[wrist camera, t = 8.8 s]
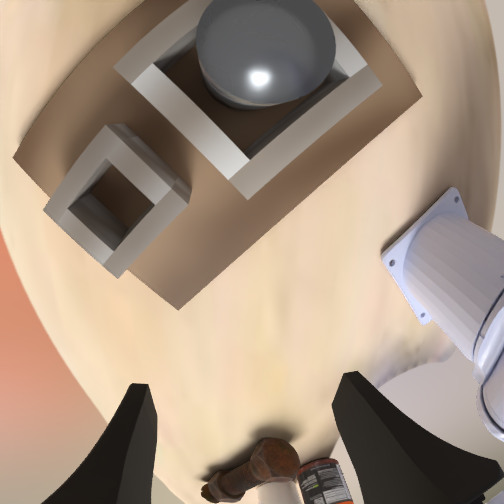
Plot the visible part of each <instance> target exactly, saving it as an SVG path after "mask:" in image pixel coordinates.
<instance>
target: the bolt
mask: <svg viewBox="0 0 504 504" xmlns="http://www.w3.org/2000/svg"><path fill="white" fill-rule="evenodd" d="M250 459H251V460H249V461H247V462H246V463H244V464H243V465H241V466H239V467H237V468H236V469H234V470H232V471H227V470H219V471H218V472H216V473H215V474H214V475H213V476H212V478H211V479H210V481H209V483H208V484H206V485H204V486H203V487H202V489H201V490H202V491H203V492H201V496H202V497H203V498H205V499H206V500H208V501H209V502H212V503H215V504H216V503H219V502H229V503H235V502H238V501H240V500H241V499H242V497H243V496H244V494H245V492H246V491H247V490H249V489H251V488H253V487H255V486H257V485H259V484H261V483H263V482H265V481H271V482H285V483H288V482H290V481H291V480H293V479H294V478H295V477H296V475H297V473H298V471H299V468H300V460H299V457H298V454H297V452H296V450H295V449H294V448H293V447H292V446H291V445H290V444H289V443H287V442H286V441H284V440H282V439H277V438H264V439H262V440H261V441H260V442H258V444H257V446H256V448H255V450H254V452H253V454H252V456H251V458H250Z"/></svg>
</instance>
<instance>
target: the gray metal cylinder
mask: <svg viewBox="0 0 504 504" xmlns="http://www.w3.org/2000/svg"><path fill="white" fill-rule="evenodd" d="M196 48H197V53H198V58H199V64H200V69H201V74H202V79H203V82H204V85H205V87H206V89H207V91H208V92H209V93H210V95H211V96H212V97H213V98H214V99H215V100H216V101H218V102H219V103H220V104H222V105H224V106H226V107H228V108H231V109H234V110H239V111H254V110H259V109H262V108H266V107H270V106H273V105H277V104H281V103H285V102H289V101H292V100H296V99H298V98H301V97H303V96H305V95H307V94H309V93H310V92H312V91H313V90H315V89H316V88H317V87H318V86H319V85H320V84H321V83H322V82H323V81H324V80H325V78H326V77H327V76H328V74H329V72H330V70H331V68H332V66H333V63H334V60H335V54H336V40H335V35H334V31H333V28H332V26H331V23H330V21H329V20H328V18H327V16H326V15H325V13H324V12H323V11H322V9H321V8H320V7H319V6H318V5H317V4H316V3H315V2H314V1H312V0H213V1H212V2H211V3H210V4H209V6H208V7H207V8H206V9H205V11H204V12H203V14H202V16H201V18H200V20H199V23H198V27H197V31H196Z"/></svg>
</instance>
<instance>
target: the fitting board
mask: <svg viewBox="0 0 504 504" xmlns="http://www.w3.org/2000/svg"><path fill="white" fill-rule="evenodd" d="M212 1H213V0H145V1H144V2H143V3H142V4H140V5H139V6H138V7H137V8H136V9H135V10H133V11H132V12H131V13H130V14H129V15H128V16H127V17H125V18H124V19H123V20H122V21H121V22H120V23H119V24H118V25H117V26H116V27H115V28H113V29H112V30H111V31H110V32H109V33H108V34H107V35H106V36H105V37H104V38H103V39H102V40H101V41H100V42H99V43H98V44H97V45H96V46H95V47H94V49H93V50H92V51H91V52H90V53H89V54H88V55H87V56H86V57H85V58H84V59H83V60H82V62H81V63H80V64H79V65H78V66H77V67H76V68H75V70H74V71H73V72H72V73H71V74H70V76H69V77H68V78H67V79H66V80H65V82H64V83H63V84H62V85H61V87H60V88H59V89H58V90H57V92H56V93H55V94H54V96H53V97H52V98H51V100H50V101H49V102H48V104H47V105H46V106H45V108H44V109H43V111H42V112H41V114H40V115H39V116H38V118H37V119H36V121H35V122H34V124H33V125H32V127H31V128H30V130H29V132H28V133H27V135H26V136H25V138H24V139H23V141H22V143H21V144H20V146H19V148H18V149H17V151H16V153H15V155H14V156H13V159H14V160H15V161H16V162H17V163H18V164H19V166H20V167H21V168H22V169H23V170H24V171H25V172H26V173H27V174H28V175H29V176H30V177H31V179H32V180H33V181H34V182H35V183H36V184H37V185H38V186H39V187H40V188H41V189H42V190H43V191H44V192H45V193H46V194H47V195H48V196H49V197H50V200H49V201H48V203H47V204H46V206H45V208H44V209H43V211H44V212H45V213H46V214H47V215H48V216H49V217H50V218H51V219H52V220H53V221H54V222H55V223H56V224H57V225H58V226H60V227H61V228H62V229H63V230H64V231H65V232H66V233H67V234H68V235H69V236H70V237H71V238H72V239H73V240H74V241H75V242H76V243H78V244H79V245H80V246H81V247H82V248H83V249H84V250H85V251H86V252H87V253H89V254H90V255H91V256H92V257H93V258H94V259H95V260H96V261H98V262H99V263H100V264H101V265H102V266H103V267H104V268H106V269H107V270H108V271H109V272H110V273H111V274H113V275H114V276H115V277H116V278H117V279H118V278H119V277H120V276H121V275H122V274H123V273H124V272H125V271H126V269H128V270H129V271H130V272H131V273H132V274H134V275H135V276H136V277H137V278H138V279H139V280H141V281H142V282H143V283H144V284H146V285H147V286H148V287H149V288H150V289H152V290H153V291H154V292H155V293H157V294H158V295H159V296H160V297H162V298H163V299H164V300H165V301H167V302H168V303H169V304H171V305H172V306H173V307H174V308H176V309H177V310H179V309H181V308H182V307H183V306H184V305H185V304H186V303H187V302H188V301H190V300H191V299H192V298H193V297H194V296H195V295H196V294H197V293H199V292H200V291H201V290H202V289H203V288H204V287H205V286H206V285H208V284H209V283H210V282H211V281H212V280H213V279H214V278H215V277H217V276H218V275H219V274H220V273H221V272H222V271H223V270H225V269H226V268H227V267H228V266H229V265H230V264H231V263H232V262H234V261H235V260H236V259H237V258H238V257H239V256H240V255H242V254H243V253H244V252H245V251H246V250H247V249H248V248H249V247H251V246H252V245H253V244H254V243H255V242H256V241H257V240H259V239H260V238H261V237H262V236H263V235H264V234H265V233H266V232H268V231H269V230H270V229H271V228H272V227H273V226H274V225H276V224H277V223H278V222H279V221H280V220H281V219H282V218H284V217H285V216H286V215H287V214H288V213H289V212H290V211H291V210H293V209H294V208H295V207H296V206H297V205H298V204H299V203H301V202H302V201H303V200H304V199H305V198H306V197H307V196H309V195H310V194H311V193H312V192H313V191H314V190H315V189H317V188H318V187H319V186H320V185H321V184H322V183H323V182H325V181H326V180H327V179H328V178H329V177H330V176H331V175H333V174H334V173H335V172H336V171H337V170H338V169H339V168H341V167H342V166H343V165H344V164H345V163H346V162H347V161H349V160H350V159H351V158H352V157H353V156H354V155H355V154H357V153H358V152H359V151H360V150H361V149H362V148H364V147H365V146H366V145H367V144H368V143H369V142H370V141H372V140H373V139H374V138H375V137H376V136H377V135H378V134H380V133H381V132H382V131H383V130H384V129H385V128H387V127H388V126H389V125H390V124H391V123H392V122H393V121H395V120H396V119H397V118H398V117H399V116H400V115H402V114H403V113H404V112H405V111H406V110H407V109H408V108H410V107H411V106H412V105H413V104H414V103H415V102H417V101H418V100H419V99H420V98H421V97H422V95H421V93H420V91H419V89H418V88H417V86H416V85H415V83H414V81H413V80H412V78H411V77H410V75H409V73H408V72H407V70H406V69H405V67H404V66H403V64H402V63H401V61H400V60H399V58H398V57H397V55H396V54H395V53H394V51H393V50H392V48H391V47H390V46H389V44H388V43H387V41H386V40H385V39H384V37H383V36H382V35H381V34H380V32H379V31H378V30H377V28H376V27H375V26H374V25H373V23H372V22H371V21H370V20H369V18H368V17H367V16H366V15H365V14H364V12H363V11H362V10H361V9H360V8H359V7H358V5H357V4H356V3H355V2H354V1H353V0H312V1H314V2H315V3H316V4H317V5H318V6H319V7H320V8H321V9H322V11H323V12H324V13H325V15H326V16H327V18H328V20H329V21H330V23H331V26H332V28H333V31H334V35H335V40H336V54H335V60H334V63H333V66H332V68H331V70H330V72H329V74H328V76H327V77H326V78H325V80H324V81H323V82H322V83H321V84H320V85H319V86H318V87H317V88H316V89H315V90H313V91H312V92H310V93H309V94H307V95H305V96H303V97H301V98H298V99H296V100H292V101H289V102H285V103H281V104H277V105H273V106H270V107H266V108H262V109H259V110H254V111H239V110H234V109H231V108H228V107H226V106H224V105H222V104H220V103H219V102H218V101H216V100H215V99H214V98H213V97H212V96H211V95H210V93H209V92H208V91H207V89H206V87H205V85H204V82H203V79H202V74H201V69H200V64H199V58H198V53H197V48H196V31H197V27H198V23H199V20H200V18H201V16H202V14H203V12H204V11H205V9H206V8H207V7H208V6H209V4H210V3H211V2H212Z"/></svg>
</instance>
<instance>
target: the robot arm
mask: <svg viewBox="0 0 504 504" xmlns="http://www.w3.org/2000/svg"><path fill="white" fill-rule="evenodd" d="M455 197H456V199H455ZM454 200H455V201H454ZM381 260H382V262H383V264H384V265H385V267H386V268H387V270H388V271H389V273H390V274H391V276H392V278H393V279H394V281H395V282H396V284H397V285H398V287H399V289H400V290H401V292H402V293H403V295H404V297H405V298H406V300H407V302H408V303H409V305H410V307H411V308H412V310H413V312H414V313H415V315H416V317H417V318H418V320H419V322H420V323H421V324H422V325H426V324H427V323H428V322H430V321H431V320H432V319H433V321H434V322H435V323H436V324H437V325H438V326H439V327H440V328H441V329H442V330H443V331H444V333H445V334H446V335H447V336H448V337H449V338H450V339H451V340H452V341H453V343H454V344H455V345H456V346H457V347H458V348H459V349H460V351H461V352H462V353H463V354H464V355H465V356H466V357H467V358H468V359H469V360H471V361H472V362H474V363H475V367H474V370H473V372H472V375H473V377H474V378H475V379H476V380H477V381H478V383H479V384H480V386H479V388H478V392H477V409H478V412H479V416H480V418H481V420H482V422H483V423H484V425H485V426H486V428H487V429H488V430H489V431H490V432H491V434H493V435H494V436H495V437H496V438H498V439H499V440H501V441H503V442H504V240H502V239H501V238H499V237H497V236H496V235H494V234H492V233H490V232H489V231H487V230H485V229H483V228H482V227H480V226H478V225H476V224H475V223H473V222H471V221H469V218H468V215H467V212H466V210H465V207H464V204H463V201H462V199H461V196H460V194H459V191H458V189H457V188H455V187H450V188H449V189H448V190H447V191H446V192H445V193H444V194H443V195H442V196H441V197H440V198H439V199H438V200H437V201H436V202H435V203H434V204H433V205H432V206H431V207H430V208H429V209H428V210H427V211H426V212H425V213H424V214H423V215H422V216H421V217H420V218H419V219H418V220H417V221H416V222H415V223H414V224H413V225H412V226H411V227H410V228H409V229H408V230H407V231H406V232H405V233H404V234H403V235H402V236H400V237H399V238H398V239H397V240H396V241H395V242H394V243H393V244H392V245H391V246H390V247H389V248H387V249H386V250H385V251H384V252H383V253H382V256H381ZM391 260H393V261H392V262H391V263H390V261H391ZM389 263H390V264H389ZM332 409H333V413H334V417H335V421H336V424H337V428H338V430H339V433H340V435H341V437H342V440H343V442H344V444H345V447H346V449H347V452H348V454H349V457H350V459H351V461H352V464H353V466H354V468H355V471H356V474H357V476H358V480H359V484H360V487H361V492H362V495H363V500H364V504H483V503H482V501H484V500H485V496H484V494H483V493H484V492H486V491H487V490H488V489H490V488H491V487H492V486H494V485H495V484H496V483H497V482H499V481H500V480H501V479H502V478H503V477H504V472H503V470H502V469H501V467H500V465H499V464H498V462H497V461H496V460H492V459H488V458H484V457H481V456H477V455H475V454H472V453H470V452H467V451H464V450H462V449H460V448H457V447H455V446H453V445H451V444H449V443H447V442H445V441H443V440H442V439H440V438H438V437H436V436H435V435H433V434H432V433H430V432H428V431H427V430H425V429H424V428H422V427H421V426H420V425H418V424H417V423H415V422H414V421H413V420H412V419H410V418H409V417H408V416H406V415H405V414H404V413H403V412H401V411H400V410H399V409H398V408H397V407H395V406H394V405H393V404H392V403H391V402H390V401H389V400H388V399H387V398H386V397H384V396H383V395H382V394H381V393H380V392H379V391H378V390H377V389H376V388H375V387H374V386H373V385H372V384H371V383H370V382H369V381H368V380H367V379H366V378H365V377H363V376H362V375H361V374H360V373H359V372H358V371H354V372H348V373H344V374H343V376H342V379H341V382H340V384H339V387H338V390H337V392H336V395H335V398H334V400H333V403H332ZM156 444H157V413H156V410H155V406H154V403H153V399H152V396H151V392H150V389H149V385H148V384H136V383H132V384H131V385H130V386H129V388H128V390H127V392H126V394H125V396H124V398H123V400H122V402H121V404H120V405H119V407H118V409H117V411H116V413H115V414H114V416H113V418H112V419H111V421H110V423H109V424H108V426H107V428H106V430H105V431H104V433H103V434H102V436H101V437H100V439H99V440H98V442H97V443H96V444H95V446H94V447H93V449H92V450H91V452H90V453H89V454H88V456H87V457H86V458H85V460H84V461H83V462H82V463H81V464H80V466H79V467H78V468H77V469H76V471H75V472H74V473H73V474H72V475H71V476H70V477H69V478H68V479H67V480H66V481H65V482H64V483H63V484H62V485H61V486H60V487H59V488H58V489H57V490H56V491H55V492H54V493H53V494H52V495H50V496H49V497H48V498H47V499H46V500H45V501H44V502H42V503H41V504H151V487H152V478H153V469H154V461H155V453H156ZM485 504H504V490H503V491H502V492H500V493H499V494H497V495H496V496H495V497H493V498H492V499H491V500H490V501H488V502H487V503H485Z"/></svg>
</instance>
